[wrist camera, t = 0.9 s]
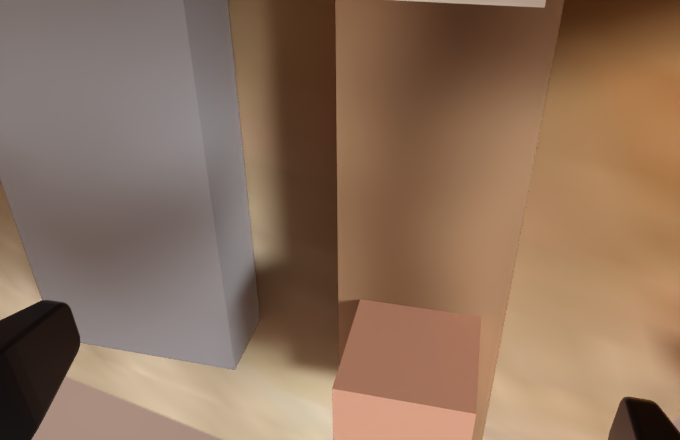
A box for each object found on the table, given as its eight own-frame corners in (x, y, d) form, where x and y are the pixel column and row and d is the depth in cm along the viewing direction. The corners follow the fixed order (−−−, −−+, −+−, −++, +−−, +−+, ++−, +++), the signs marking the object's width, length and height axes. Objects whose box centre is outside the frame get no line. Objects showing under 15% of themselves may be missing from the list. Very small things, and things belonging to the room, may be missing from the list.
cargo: (481, 316, 20) (476, 413, 16) (467, 400, 22) (461, 501, 19) (360, 299, 20) (332, 388, 17) (358, 382, 23) (333, 475, 19)
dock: (200, -265, 16) (144, -282, 13) (260, 319, 26) (234, 370, 24) (-62, -255, 17) (-157, -269, 15) (95, 293, 28) (55, 338, 26)
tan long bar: (613, -365, 13) (642, -418, 10) (484, 374, 26) (481, 443, 23) (366, -349, 14) (331, -394, 11) (357, 353, 27) (339, 417, 24)
